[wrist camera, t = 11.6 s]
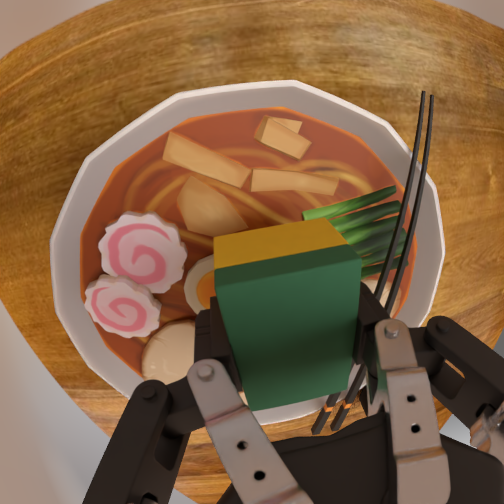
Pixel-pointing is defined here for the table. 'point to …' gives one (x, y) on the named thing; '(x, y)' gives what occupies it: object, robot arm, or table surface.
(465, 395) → the robot arm
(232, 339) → the sponge
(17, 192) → the table surface
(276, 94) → the ramen bowl
